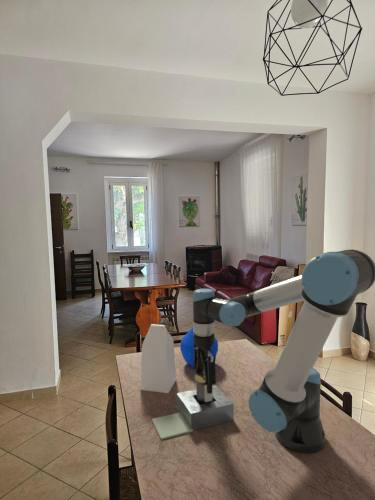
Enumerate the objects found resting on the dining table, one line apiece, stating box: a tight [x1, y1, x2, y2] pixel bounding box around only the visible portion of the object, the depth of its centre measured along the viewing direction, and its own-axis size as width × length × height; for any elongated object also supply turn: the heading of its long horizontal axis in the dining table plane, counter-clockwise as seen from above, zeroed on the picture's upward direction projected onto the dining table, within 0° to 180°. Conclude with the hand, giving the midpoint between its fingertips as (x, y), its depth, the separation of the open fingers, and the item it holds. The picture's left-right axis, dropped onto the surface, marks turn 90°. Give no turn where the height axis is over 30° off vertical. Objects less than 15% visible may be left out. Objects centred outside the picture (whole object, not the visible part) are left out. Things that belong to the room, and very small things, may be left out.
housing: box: [176, 384, 235, 431], centre depth 118 cm, size 14×16×6 cm
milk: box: [140, 323, 177, 394], centre depth 139 cm, size 12×12×26 cm
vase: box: [179, 326, 219, 369], centre depth 159 cm, size 18×18×30 cm
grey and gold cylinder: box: [194, 372, 212, 405], centre depth 118 cm, size 7×7×14 cm
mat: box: [151, 411, 194, 441], centre depth 112 cm, size 11×11×1 cm
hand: (204, 395), depth 118 cm, fingers closed on grey and gold cylinder, 7 cm apart
